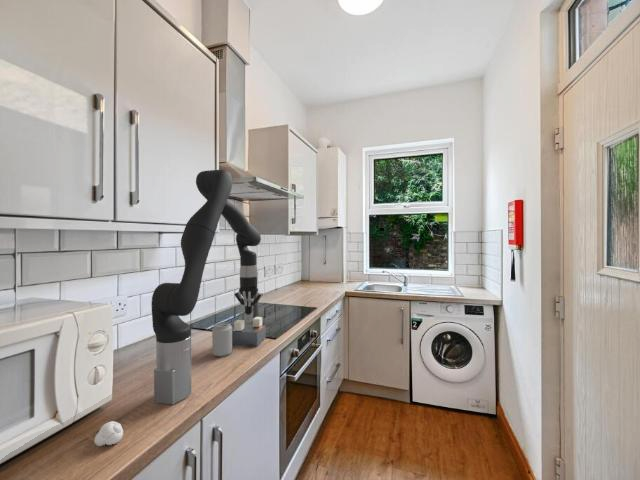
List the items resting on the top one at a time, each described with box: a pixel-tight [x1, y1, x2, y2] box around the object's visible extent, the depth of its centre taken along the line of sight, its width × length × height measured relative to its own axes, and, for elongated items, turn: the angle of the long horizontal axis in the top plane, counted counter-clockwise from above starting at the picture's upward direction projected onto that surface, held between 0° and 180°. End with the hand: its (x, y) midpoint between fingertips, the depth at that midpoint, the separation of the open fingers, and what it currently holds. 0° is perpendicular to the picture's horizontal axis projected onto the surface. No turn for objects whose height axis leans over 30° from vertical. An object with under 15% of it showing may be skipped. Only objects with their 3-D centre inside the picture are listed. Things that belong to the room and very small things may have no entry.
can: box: [211, 321, 233, 358], centre depth 115 cm, size 8×8×12 cm
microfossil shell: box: [93, 421, 124, 447], centre depth 66 cm, size 4×5×6 cm
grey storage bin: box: [232, 323, 267, 348], centre depth 128 cm, size 10×12×6 cm
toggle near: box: [233, 319, 245, 331], centre depth 126 cm, size 4×3×4 cm
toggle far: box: [252, 316, 263, 327], centre depth 131 cm, size 4×3×4 cm
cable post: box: [252, 294, 259, 320], centre depth 136 cm, size 4×4×20 cm
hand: (248, 314), depth 128 cm, fingers closed
